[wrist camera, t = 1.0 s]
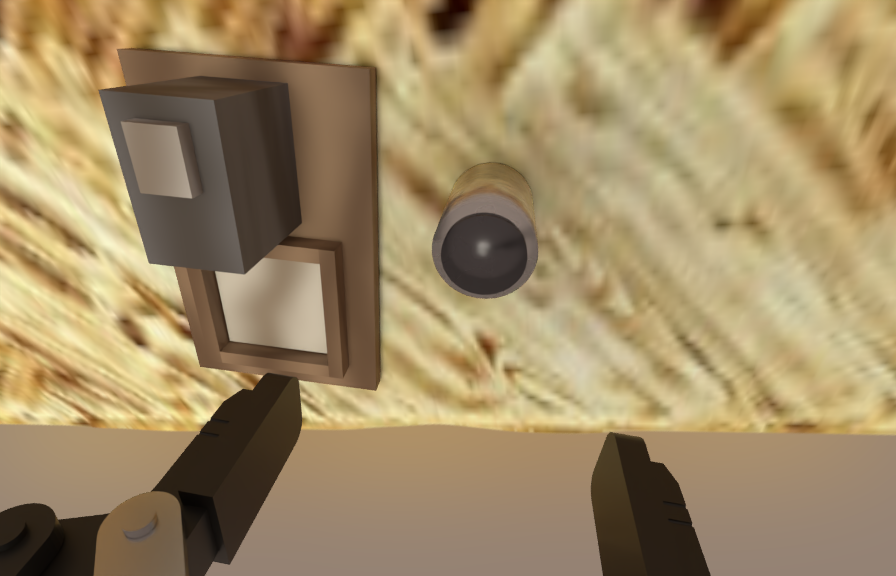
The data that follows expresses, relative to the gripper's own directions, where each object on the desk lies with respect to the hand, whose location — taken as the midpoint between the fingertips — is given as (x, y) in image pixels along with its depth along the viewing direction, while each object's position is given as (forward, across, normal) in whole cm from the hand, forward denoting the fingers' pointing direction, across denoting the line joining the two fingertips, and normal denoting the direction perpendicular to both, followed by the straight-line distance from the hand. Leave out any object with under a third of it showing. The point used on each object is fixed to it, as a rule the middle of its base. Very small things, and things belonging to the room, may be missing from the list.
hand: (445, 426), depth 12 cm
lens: (+18, 0, 0) cm, 18 cm away
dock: (+18, +14, +5) cm, 23 cm away
